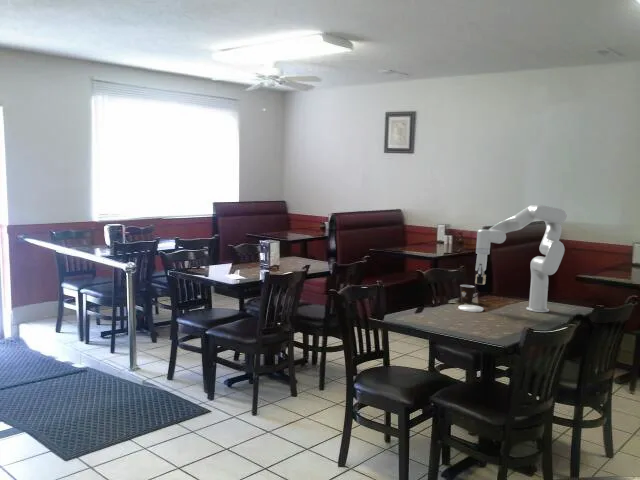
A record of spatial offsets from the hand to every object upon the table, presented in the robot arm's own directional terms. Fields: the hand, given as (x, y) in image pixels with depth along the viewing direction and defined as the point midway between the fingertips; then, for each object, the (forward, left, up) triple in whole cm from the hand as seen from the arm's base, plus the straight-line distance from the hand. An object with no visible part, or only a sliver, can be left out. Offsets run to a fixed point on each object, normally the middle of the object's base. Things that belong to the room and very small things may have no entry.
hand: (480, 282), depth 331 cm
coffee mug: (-20, -9, -16) cm, 27 cm away
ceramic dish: (0, -4, -16) cm, 17 cm away
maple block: (0, 0, -1) cm, 1 cm away
